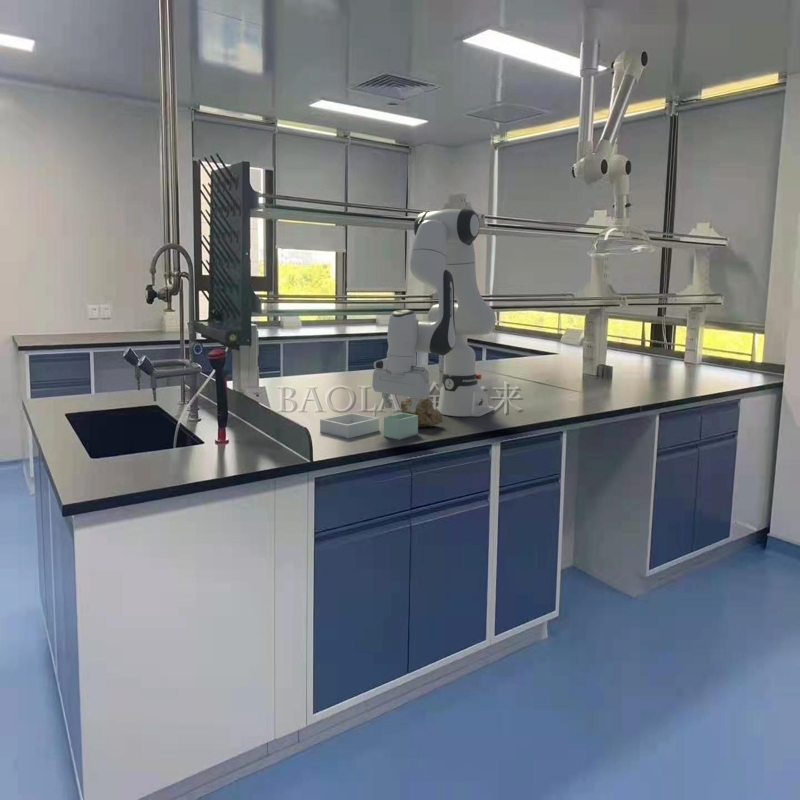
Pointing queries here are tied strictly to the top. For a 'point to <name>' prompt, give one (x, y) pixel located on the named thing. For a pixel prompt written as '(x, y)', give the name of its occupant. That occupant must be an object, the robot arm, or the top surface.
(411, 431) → the box
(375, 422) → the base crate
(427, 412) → the rock
